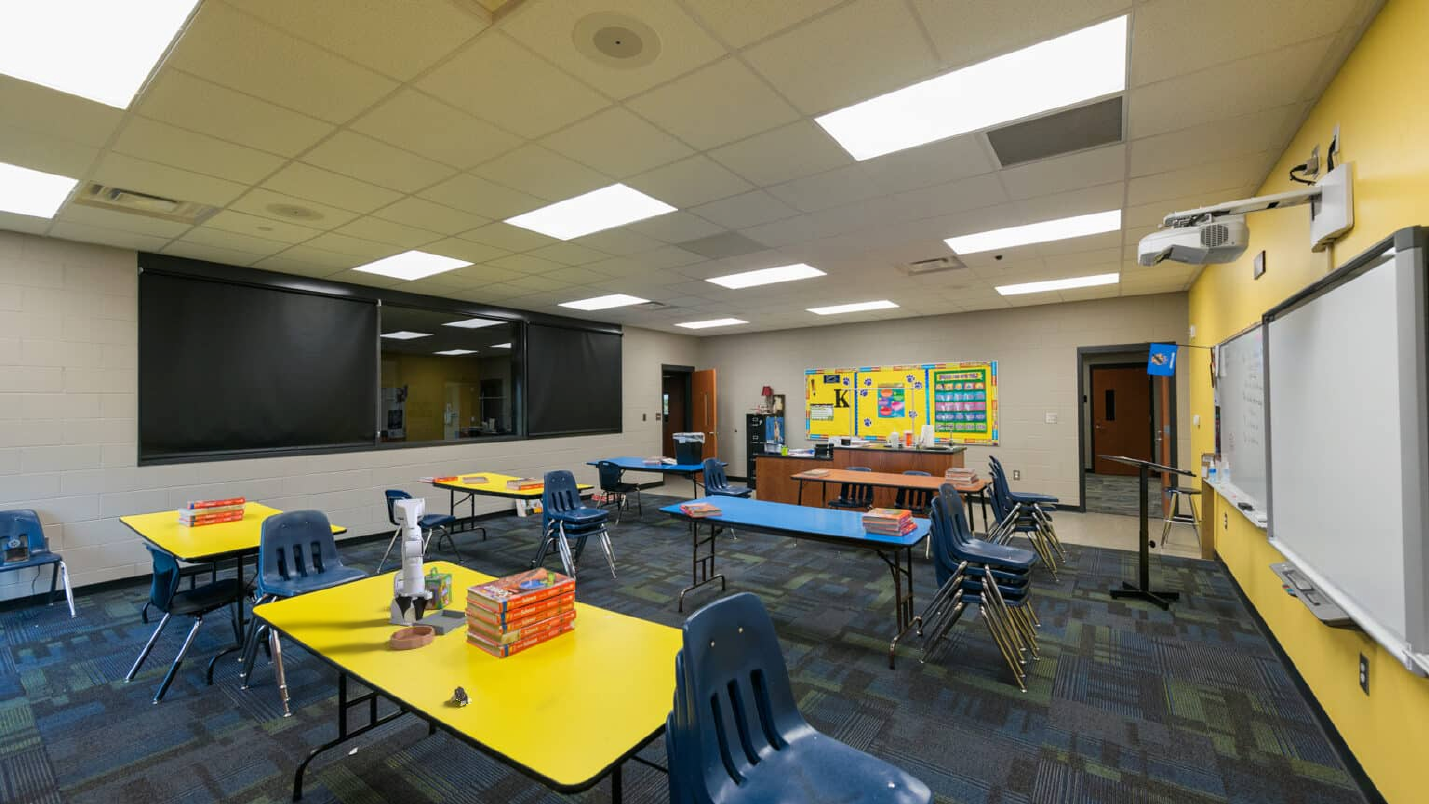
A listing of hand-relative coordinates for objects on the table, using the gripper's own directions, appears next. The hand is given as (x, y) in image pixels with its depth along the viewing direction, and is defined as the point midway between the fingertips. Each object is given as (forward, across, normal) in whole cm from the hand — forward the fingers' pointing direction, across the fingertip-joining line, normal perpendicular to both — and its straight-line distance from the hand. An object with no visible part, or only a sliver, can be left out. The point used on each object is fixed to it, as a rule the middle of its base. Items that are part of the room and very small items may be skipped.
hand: (412, 618), depth 186 cm
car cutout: (+8, +48, -27) cm, 56 cm away
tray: (+8, -2, +15) cm, 17 cm away
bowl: (+8, 0, 0) cm, 8 cm away
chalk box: (+8, -21, +30) cm, 37 cm away
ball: (-1, 0, 0) cm, 1 cm away
